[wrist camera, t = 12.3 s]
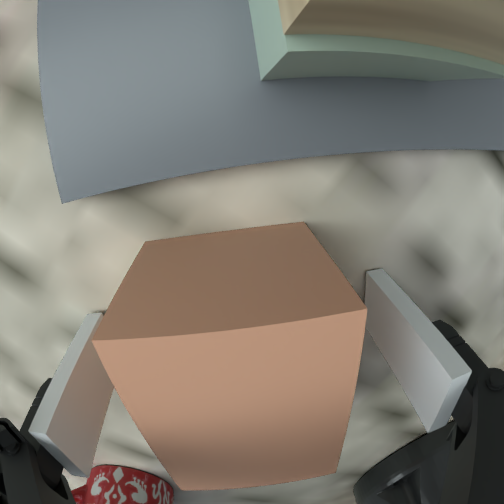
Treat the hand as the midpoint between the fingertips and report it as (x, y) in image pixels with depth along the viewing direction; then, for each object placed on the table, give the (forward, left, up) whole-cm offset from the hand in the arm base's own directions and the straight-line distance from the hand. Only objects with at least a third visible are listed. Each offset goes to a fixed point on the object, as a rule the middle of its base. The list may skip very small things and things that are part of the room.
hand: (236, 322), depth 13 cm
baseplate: (+13, -5, 0) cm, 14 cm away
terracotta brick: (0, 0, 0) cm, 0 cm away
